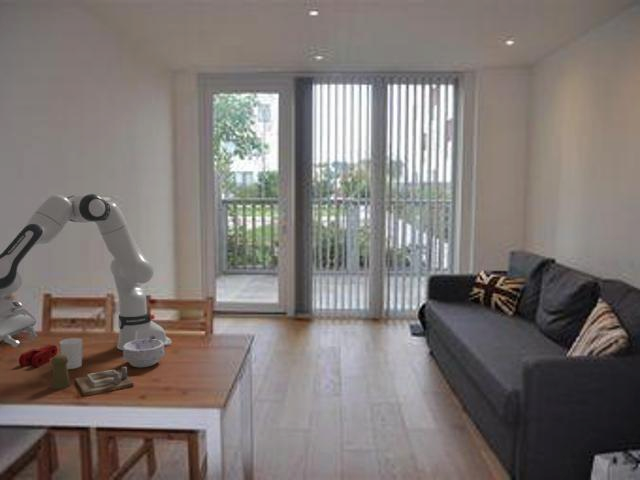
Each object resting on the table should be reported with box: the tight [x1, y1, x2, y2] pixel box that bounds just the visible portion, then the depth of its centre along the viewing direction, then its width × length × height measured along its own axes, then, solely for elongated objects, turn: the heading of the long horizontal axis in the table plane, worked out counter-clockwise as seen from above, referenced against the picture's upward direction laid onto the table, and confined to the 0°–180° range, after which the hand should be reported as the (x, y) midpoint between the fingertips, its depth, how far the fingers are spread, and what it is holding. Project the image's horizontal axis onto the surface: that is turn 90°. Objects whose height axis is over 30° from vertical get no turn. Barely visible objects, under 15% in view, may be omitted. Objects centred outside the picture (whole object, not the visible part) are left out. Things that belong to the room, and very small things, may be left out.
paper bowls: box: [122, 339, 165, 368], centre depth 217 cm, size 15×15×8 cm
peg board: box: [75, 366, 135, 397], centre depth 196 cm, size 16×16×5 cm
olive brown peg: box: [50, 354, 71, 390], centre depth 193 cm, size 6×6×11 cm
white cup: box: [59, 337, 83, 370], centre depth 214 cm, size 8×8×10 cm
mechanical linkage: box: [18, 344, 58, 368], centre depth 220 cm, size 16×7×5 cm, turn 169°
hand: (26, 341), depth 193 cm, fingers open, 8 cm apart
